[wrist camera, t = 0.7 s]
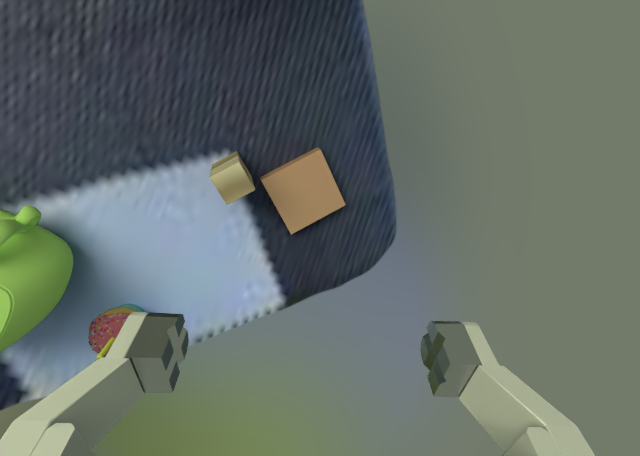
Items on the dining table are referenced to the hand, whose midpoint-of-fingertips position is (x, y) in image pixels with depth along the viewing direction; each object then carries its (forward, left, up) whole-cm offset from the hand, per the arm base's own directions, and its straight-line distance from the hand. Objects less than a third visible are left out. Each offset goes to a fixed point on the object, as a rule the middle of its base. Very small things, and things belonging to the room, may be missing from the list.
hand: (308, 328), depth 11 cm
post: (+2, -3, -42) cm, 42 cm away
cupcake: (+15, -29, -42) cm, 53 cm away
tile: (+10, +5, -42) cm, 44 cm away
